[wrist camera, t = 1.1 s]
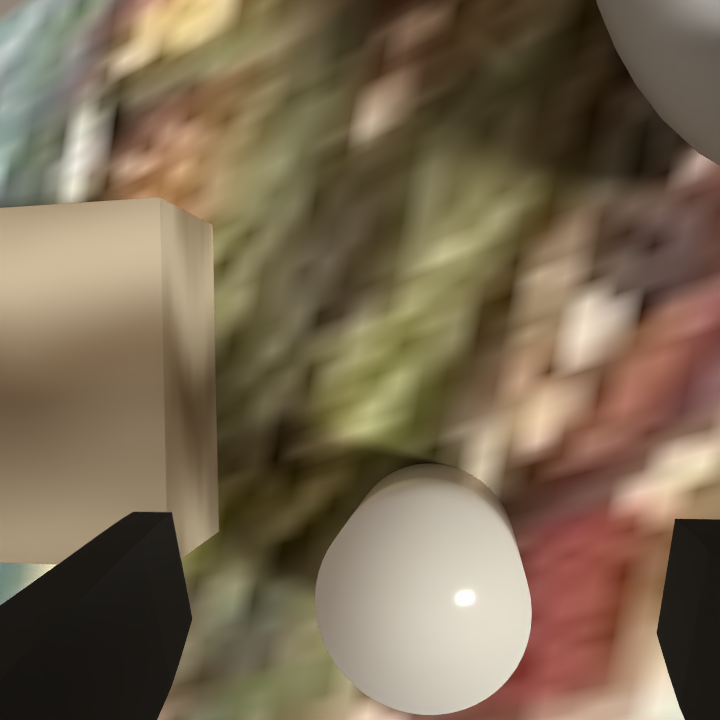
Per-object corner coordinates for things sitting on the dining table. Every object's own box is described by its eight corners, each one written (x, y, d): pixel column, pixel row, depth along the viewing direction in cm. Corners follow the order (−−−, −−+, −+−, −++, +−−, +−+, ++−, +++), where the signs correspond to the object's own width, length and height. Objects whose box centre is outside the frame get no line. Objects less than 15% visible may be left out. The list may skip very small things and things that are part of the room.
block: (223, 528, 21) (167, 567, 17) (-44, 522, 23) (-150, 557, 19) (216, 227, 21) (159, 197, 17) (-50, 242, 23) (-158, 218, 19)
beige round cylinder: (515, 630, 19) (531, 724, 14) (352, 619, 20) (315, 705, 15) (514, 465, 19) (531, 502, 14) (351, 461, 20) (314, 495, 15)
